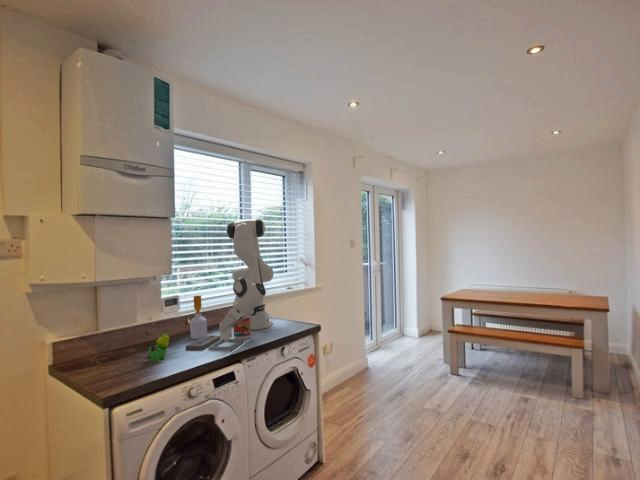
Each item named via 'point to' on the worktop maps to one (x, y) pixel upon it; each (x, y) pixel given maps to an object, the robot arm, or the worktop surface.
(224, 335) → the charger
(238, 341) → the tray
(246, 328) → the fruit juice
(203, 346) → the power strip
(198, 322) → the soap bottle
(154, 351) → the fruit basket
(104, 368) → the worktop surface
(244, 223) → the robot arm
